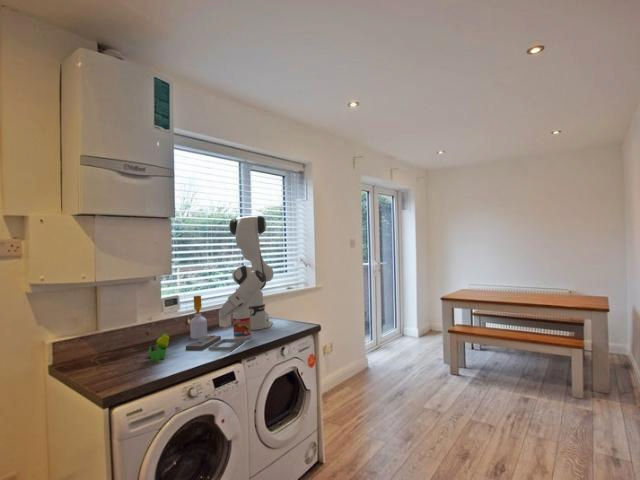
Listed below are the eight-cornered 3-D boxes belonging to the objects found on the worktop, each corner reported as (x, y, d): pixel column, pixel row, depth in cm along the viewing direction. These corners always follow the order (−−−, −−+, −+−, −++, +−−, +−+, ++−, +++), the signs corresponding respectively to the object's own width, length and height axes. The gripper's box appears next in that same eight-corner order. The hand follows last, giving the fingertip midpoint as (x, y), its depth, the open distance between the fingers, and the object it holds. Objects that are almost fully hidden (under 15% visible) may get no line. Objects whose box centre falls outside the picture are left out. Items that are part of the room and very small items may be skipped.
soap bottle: (190, 341, 204) (188, 297, 204) (191, 337, 213) (189, 295, 213) (207, 339, 207) (205, 295, 207) (207, 335, 216) (205, 293, 216)
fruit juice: (254, 337, 207) (251, 287, 207) (246, 341, 198) (243, 289, 198) (239, 336, 210) (237, 287, 210) (230, 340, 201) (228, 289, 201)
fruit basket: (150, 356, 178) (149, 333, 178) (170, 353, 181) (169, 330, 182) (148, 363, 168) (147, 338, 168) (169, 360, 171) (168, 335, 171)
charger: (223, 328, 190) (222, 309, 190) (231, 328, 189) (230, 309, 189) (219, 330, 185) (218, 310, 186) (227, 330, 185) (226, 310, 185)
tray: (222, 343, 196) (222, 338, 196) (243, 343, 194) (243, 338, 194) (208, 352, 181) (208, 347, 181) (230, 352, 178) (230, 347, 178)
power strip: (205, 341, 203) (205, 334, 203) (221, 341, 201) (220, 334, 201) (185, 352, 183) (185, 344, 183) (202, 352, 181) (202, 344, 181)
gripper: (244, 291, 196) (228, 309, 198) (227, 296, 176) (210, 317, 178) (253, 299, 195) (236, 317, 197) (236, 305, 175) (218, 326, 177)
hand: (223, 317), depth 187 cm, fingers closed on charger, 4 cm apart
